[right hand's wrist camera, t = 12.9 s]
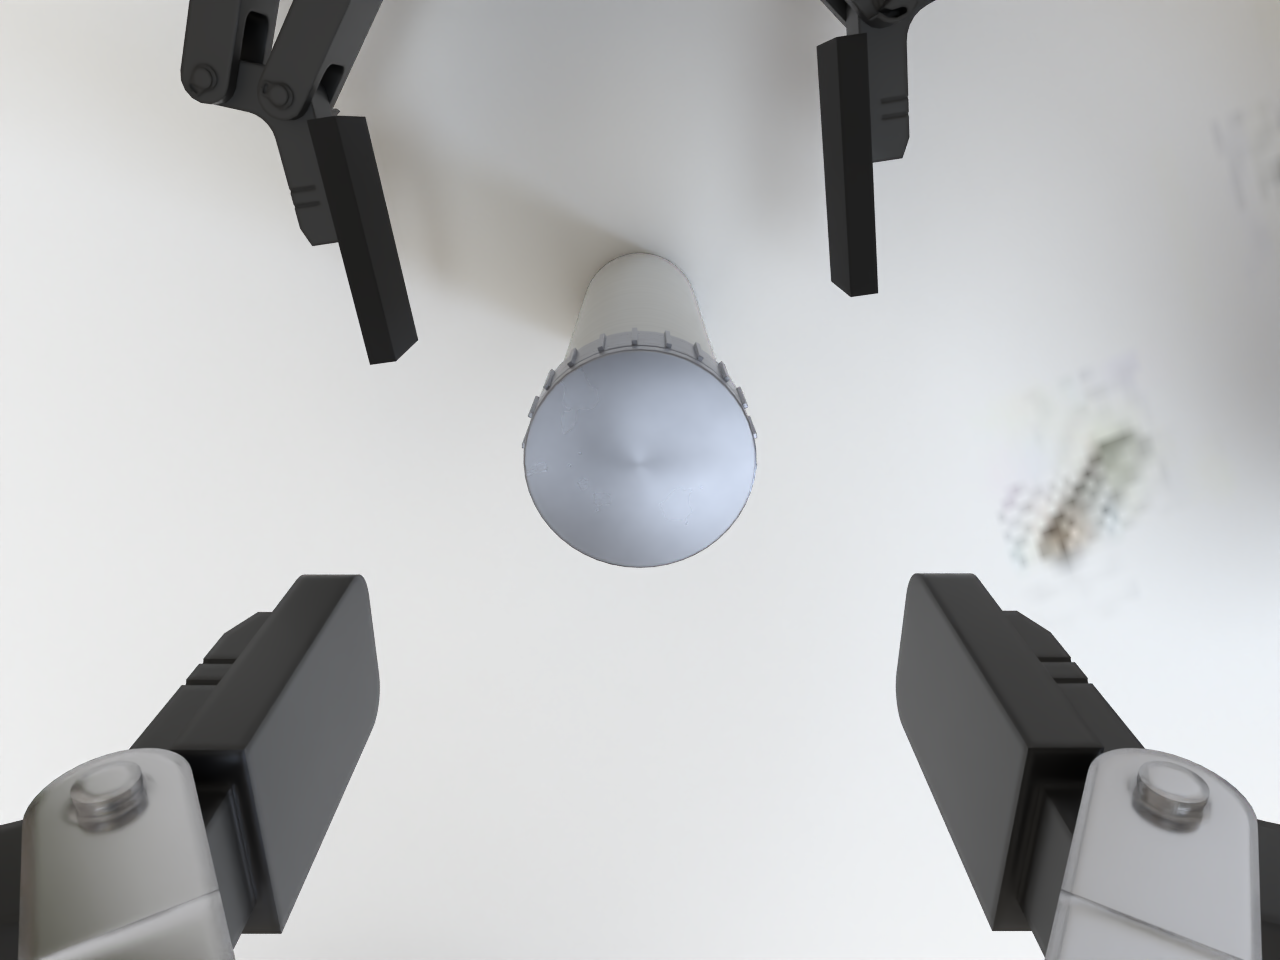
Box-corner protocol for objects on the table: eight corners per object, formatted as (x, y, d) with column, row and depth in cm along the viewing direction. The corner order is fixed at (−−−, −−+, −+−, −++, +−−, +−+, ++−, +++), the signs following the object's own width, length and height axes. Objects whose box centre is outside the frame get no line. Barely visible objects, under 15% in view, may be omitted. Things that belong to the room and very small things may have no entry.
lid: (793, 396, 19) (807, 422, 17) (676, 570, 20) (680, 608, 19) (597, 284, 18) (593, 299, 16) (492, 474, 20) (478, 505, 18)
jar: (717, 289, 32) (780, 422, 18) (659, 385, 34) (674, 579, 19) (618, 230, 31) (600, 318, 17) (563, 330, 33) (503, 491, 18)
